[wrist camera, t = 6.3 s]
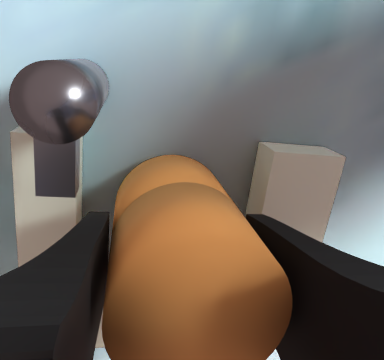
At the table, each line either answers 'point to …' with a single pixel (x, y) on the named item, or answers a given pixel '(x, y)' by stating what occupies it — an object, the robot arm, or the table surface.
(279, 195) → the beige u-shaped block
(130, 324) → the orange rounded cylinder
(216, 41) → the table surface
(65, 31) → the table surface
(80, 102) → the hook post
